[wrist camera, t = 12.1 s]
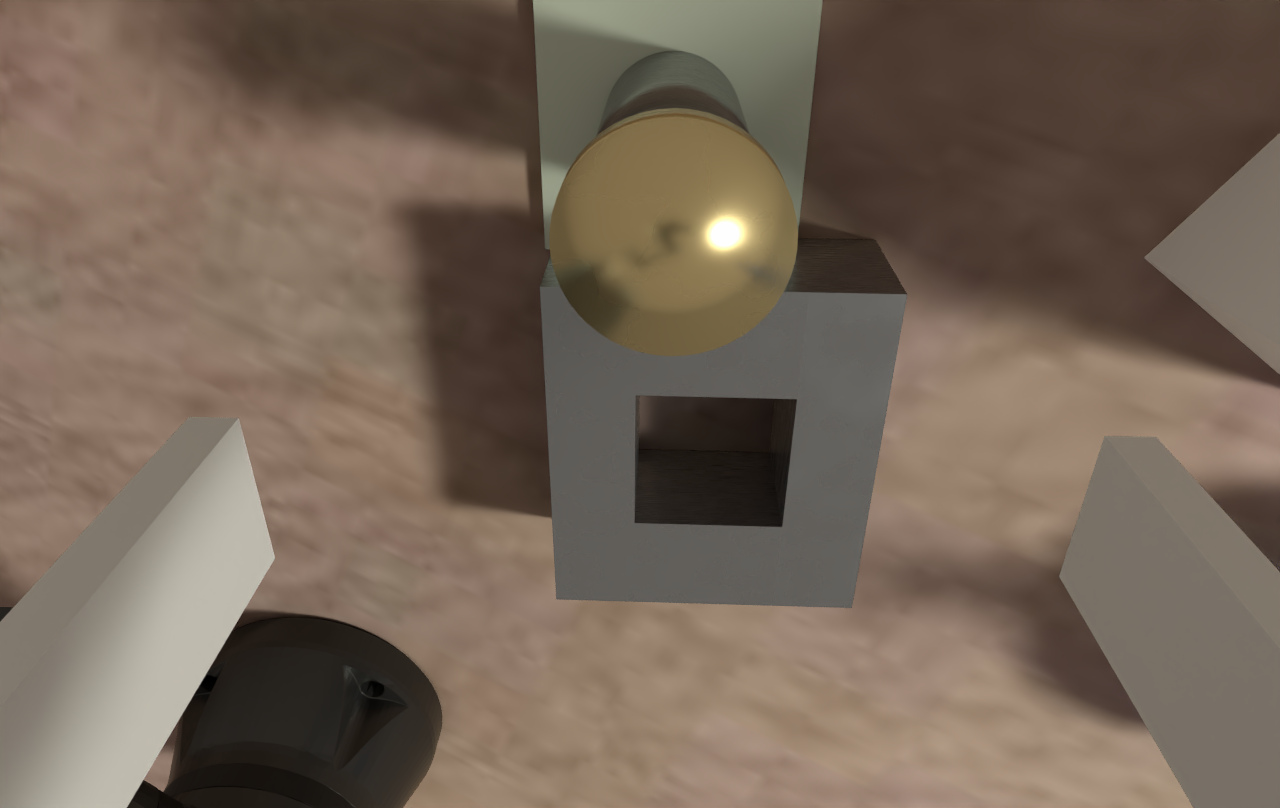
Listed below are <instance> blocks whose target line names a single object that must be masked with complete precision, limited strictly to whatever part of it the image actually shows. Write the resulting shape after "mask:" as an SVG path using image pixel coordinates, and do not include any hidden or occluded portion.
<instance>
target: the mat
mask: <svg viewBox="0 0 1280 808" xmlns="http://www.w3.org/2000/svg"><path fill="white" fill-rule="evenodd" d="M822 1H823V0H533V10H534V31H535V51H536V72H537V92H538V113H539V134H540V154H541V175H542V195H543V216H544V236H545V249H550V245H549V234H550V223H551V216H552V211H553V208H554V205H555V201H556V198H557V195H558V193H559V190H560V187H561V185H562V182H563V180H564V178H565V176H566V174H567V172H568V170H569V168H570V166H571V165H572V163H573V162H574V160H575V159H576V157H577V156H578V155H579V153H580V152H581V151H582V150H583V149H584V148H585V146H586V145H587V144H588V143H589V142H590V141H592V140H593V139H594V138H595V137H596V135H597V132H598V129H599V125H600V122H601V119H602V116H603V113H604V109H605V106H606V103H607V100H608V97H609V94H610V92H611V90H612V88H613V86H614V85H615V83H616V82H617V80H618V79H619V77H620V76H621V75H622V74H623V73H624V72H625V71H626V70H627V69H628V68H629V67H630V66H631V65H633V64H634V63H636V62H637V61H639V60H641V59H642V58H644V57H646V56H649V55H652V54H655V53H659V52H664V51H683V52H688V53H692V54H695V55H698V56H700V57H703V58H705V59H706V60H708V61H710V62H711V63H713V64H714V65H715V66H717V67H718V68H719V69H720V70H721V71H722V72H723V73H724V74H725V76H726V77H727V78H728V79H729V81H730V82H731V84H732V86H733V88H734V89H735V92H736V94H737V97H738V99H739V103H740V106H741V109H742V112H743V115H744V118H745V121H746V124H747V127H748V130H749V133H750V135H751V136H753V137H754V138H755V139H756V140H757V141H758V142H759V143H760V144H761V145H762V146H763V147H764V148H765V149H766V151H767V152H768V153H769V155H770V156H771V157H772V158H773V160H774V161H775V163H776V165H777V167H778V168H779V170H780V172H781V174H782V176H783V179H784V181H785V184H786V186H787V189H788V191H789V194H790V196H791V199H792V201H793V205H794V209H795V214H796V219H797V228H798V230H799V221H800V211H801V202H802V192H803V183H804V173H805V164H806V154H807V145H808V135H809V125H810V116H811V106H812V97H813V87H814V78H815V68H816V59H817V49H818V40H819V30H820V20H821V11H822Z"/></svg>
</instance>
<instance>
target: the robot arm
mask: <svg viewBox="0 0 1280 808" xmlns="http://www.w3.org/2000/svg"><path fill="white" fill-rule="evenodd" d="M274 559H275V556H274V552H273V548H272V544H271V541H270V537H269V533H268V529H267V525H266V521H265V517H264V514H263V510H262V506H261V502H260V498H259V494H258V490H257V487H256V483H255V479H254V475H253V471H252V467H251V463H250V460H249V456H248V452H247V448H246V444H245V440H244V436H243V433H242V429H241V425H240V421H239V418H215V417H189V418H188V419H187V420H186V421H185V422H184V423H183V424H182V425H181V426H180V427H179V428H178V430H177V431H176V432H175V433H174V434H173V435H172V436H171V437H170V438H169V439H168V440H167V441H166V443H165V444H164V445H163V446H162V447H161V448H160V449H159V450H158V451H157V452H156V453H155V454H154V456H153V457H152V458H151V459H150V460H149V461H148V462H147V463H146V464H145V465H144V466H143V468H142V469H141V470H140V471H139V472H138V473H137V474H136V475H135V476H134V477H133V478H132V479H131V481H130V482H129V483H128V484H127V485H126V486H125V487H124V488H123V489H122V490H121V491H120V492H119V494H118V495H117V496H116V497H115V498H114V499H113V500H112V501H111V502H110V503H109V504H108V505H107V507H106V508H105V509H104V510H103V511H102V512H101V513H100V514H99V515H98V516H97V517H96V518H95V520H94V521H93V522H92V523H91V524H90V525H89V526H88V527H87V528H86V529H85V530H84V531H83V533H82V534H81V535H80V536H79V537H78V538H77V539H76V540H75V541H74V542H73V543H72V544H71V546H70V547H69V548H68V549H67V550H66V551H65V552H64V553H63V554H62V555H61V556H60V557H59V559H58V560H57V561H56V562H55V563H54V564H53V565H52V566H51V567H50V568H49V569H48V571H47V572H46V573H45V574H44V575H43V576H42V577H41V578H40V579H39V580H38V581H37V582H36V584H35V585H34V586H33V587H32V588H31V589H30V590H29V591H28V592H27V593H26V594H25V595H24V597H23V598H22V599H21V600H20V601H19V602H18V603H17V604H16V605H15V606H14V607H13V608H11V607H0V808H403V807H404V806H405V804H406V803H407V801H408V800H409V798H410V797H411V796H412V794H413V793H414V791H415V790H416V789H417V787H418V786H419V784H420V783H421V781H422V780H423V778H424V777H425V775H426V774H427V772H428V770H429V768H430V766H431V763H432V760H433V758H434V754H435V750H436V747H437V743H438V740H439V736H440V732H441V728H442V710H441V706H440V702H439V699H438V696H437V694H436V692H435V690H434V688H433V686H432V684H431V683H430V681H429V680H428V678H427V677H426V676H425V674H424V673H423V672H422V671H421V670H420V669H419V668H418V666H416V665H415V664H414V663H413V662H412V661H411V660H410V659H409V658H408V657H407V656H405V655H404V654H403V653H401V652H400V651H399V650H397V649H396V648H394V647H393V646H391V645H390V644H388V643H386V642H385V641H383V640H381V639H379V638H377V637H375V636H373V635H371V634H369V633H366V632H364V631H361V630H359V629H356V628H353V627H350V626H347V625H343V624H339V623H335V622H331V621H326V620H320V619H312V618H276V619H269V620H263V621H259V622H255V623H251V624H248V625H245V626H243V627H241V628H238V629H236V630H234V631H232V630H233V628H234V626H235V625H236V623H237V621H238V620H239V618H240V616H241V615H242V613H243V611H244V609H245V608H246V606H247V604H248V603H249V601H250V599H251V598H252V596H253V594H254V593H255V591H256V589H257V588H258V586H259V584H260V583H261V581H262V579H263V577H264V576H265V574H266V572H267V571H268V569H269V567H270V566H271V564H272V562H273V561H274ZM1059 577H1060V579H1061V581H1062V583H1063V584H1064V586H1065V588H1066V589H1067V591H1068V593H1069V595H1070V596H1071V598H1072V600H1073V601H1074V603H1075V605H1076V607H1077V608H1078V610H1079V612H1080V614H1081V615H1082V617H1083V619H1084V620H1085V622H1086V624H1087V626H1088V627H1089V629H1090V631H1091V632H1092V634H1093V636H1094V638H1095V639H1096V641H1097V643H1098V644H1099V646H1100V648H1101V650H1102V651H1103V653H1104V655H1105V656H1106V658H1107V660H1108V662H1109V663H1110V665H1111V667H1112V668H1113V670H1114V672H1115V674H1116V675H1117V677H1118V679H1119V680H1120V682H1121V684H1122V686H1123V687H1124V689H1125V691H1126V692H1127V694H1128V696H1129V698H1130V699H1131V701H1132V703H1133V704H1134V706H1135V708H1136V710H1137V711H1138V713H1139V715H1140V716H1141V718H1142V720H1143V722H1144V723H1145V725H1146V727H1147V729H1148V730H1149V732H1150V734H1151V735H1152V737H1153V739H1154V741H1155V742H1156V744H1157V746H1158V747H1159V749H1160V751H1161V753H1162V754H1163V756H1164V758H1165V759H1166V761H1167V763H1168V765H1169V766H1170V768H1171V770H1172V771H1173V773H1174V775H1175V777H1176V778H1177V780H1178V782H1179V783H1180V785H1181V787H1182V789H1183V790H1184V792H1185V794H1186V795H1187V797H1188V799H1189V801H1190V802H1191V804H1192V806H1193V807H1194V808H1280V572H1279V571H1278V569H1277V568H1276V567H1275V566H1274V565H1273V564H1272V563H1271V562H1270V561H1269V560H1268V558H1267V557H1266V556H1265V555H1264V554H1263V553H1262V552H1261V551H1260V550H1259V549H1258V548H1257V546H1256V545H1255V544H1254V543H1253V542H1252V541H1251V540H1250V539H1249V538H1248V537H1247V536H1246V534H1245V533H1244V532H1243V531H1242V530H1241V529H1240V528H1239V527H1238V526H1237V525H1236V524H1235V522H1234V521H1233V520H1232V519H1231V518H1230V517H1229V516H1228V515H1227V514H1226V513H1225V512H1224V510H1223V509H1222V508H1221V507H1220V506H1219V505H1218V504H1217V503H1216V502H1215V501H1214V500H1213V498H1212V497H1211V496H1210V495H1209V494H1208V493H1207V492H1206V491H1205V490H1204V489H1203V487H1202V486H1201V485H1200V484H1199V483H1198V482H1197V481H1196V480H1195V479H1194V478H1193V477H1192V475H1191V474H1190V473H1189V472H1188V471H1187V470H1186V469H1185V468H1184V467H1183V466H1182V465H1181V463H1180V462H1179V461H1178V460H1177V459H1176V458H1175V457H1174V456H1173V455H1172V454H1171V453H1170V451H1169V450H1168V449H1167V448H1166V447H1165V446H1164V445H1163V444H1162V443H1161V442H1160V441H1159V439H1158V438H1157V437H1130V436H1105V437H1104V440H1103V443H1102V446H1101V449H1100V452H1099V455H1098V458H1097V462H1096V465H1095V468H1094V471H1093V474H1092V477H1091V480H1090V483H1089V486H1088V489H1087V492H1086V495H1085V498H1084V501H1083V504H1082V507H1081V511H1080V514H1079V517H1078V520H1077V523H1076V526H1075V529H1074V532H1073V535H1072V538H1071V541H1070V544H1069V547H1068V550H1067V553H1066V556H1065V560H1064V563H1063V566H1062V569H1061V572H1060V575H1059ZM231 631H232V632H231ZM179 719H180V722H179V727H178V733H177V738H176V744H175V749H174V754H173V760H172V765H171V771H170V776H169V781H168V784H167V786H166V788H165V790H164V792H162V791H160V790H158V789H157V788H156V787H155V786H153V785H151V784H150V783H148V782H146V781H144V778H145V776H146V775H147V773H148V771H149V769H150V768H151V766H152V764H153V763H154V761H155V759H156V758H157V756H158V754H159V753H160V751H161V749H162V748H163V746H164V744H165V743H166V741H167V739H168V737H169V736H170V734H171V732H172V731H173V729H174V727H175V726H176V724H177V722H178V721H179Z"/></svg>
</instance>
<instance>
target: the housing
mask: <svg viewBox="0 0 1280 808" xmlns="http://www.w3.org/2000/svg"><path fill="white" fill-rule="evenodd" d="M906 299H907V293H906V291H905V290H904V288H903V286H902V285H901V283H900V281H899V279H898V278H897V276H896V274H895V273H894V271H893V269H892V268H891V266H890V264H889V262H888V261H887V259H886V257H885V256H884V254H883V252H882V251H881V249H880V247H879V245H878V244H877V242H876V240H840V239H798V245H797V253H796V259H795V264H794V267H793V271H792V274H791V277H790V279H789V282H788V284H787V286H786V288H785V290H784V292H783V294H782V295H781V297H780V298H779V300H778V302H777V303H776V305H775V306H774V307H773V308H772V310H771V311H770V312H769V313H768V314H767V316H766V317H765V318H764V319H763V320H762V321H760V322H759V323H758V324H757V325H756V326H755V327H754V328H753V329H751V330H750V331H748V332H747V333H746V334H744V335H743V336H741V337H740V338H738V339H736V340H734V341H732V342H731V343H729V344H726V345H724V346H722V347H719V348H717V349H714V350H710V351H707V352H703V353H699V354H693V355H686V356H660V355H652V354H647V353H642V352H638V351H635V350H632V349H629V348H626V347H624V346H621V345H619V344H617V343H615V342H613V341H611V340H609V339H608V338H606V337H604V336H603V335H601V334H600V333H598V332H597V331H596V330H595V329H593V328H592V327H591V326H590V325H588V324H587V323H586V322H585V321H584V320H583V319H582V318H581V317H580V316H579V315H578V314H577V312H576V311H575V310H574V308H573V307H572V306H571V304H570V303H569V302H568V300H567V298H566V297H565V295H564V293H563V291H562V290H561V288H560V285H559V283H558V280H557V278H556V275H555V272H554V268H553V265H552V261H551V255H550V258H549V261H548V264H547V267H546V270H545V273H544V276H543V279H542V282H541V285H540V300H541V318H542V337H543V356H544V375H545V394H546V412H547V431H548V450H549V469H550V488H551V507H552V525H553V544H554V563H555V582H556V599H564V600H599V601H633V602H668V603H702V604H737V605H772V606H806V607H841V608H852V603H853V598H854V592H855V586H856V581H857V575H858V569H859V564H860V558H861V553H862V547H863V541H864V536H865V530H866V524H867V519H868V513H869V507H870V502H871V496H872V490H873V485H874V479H875V474H876V468H877V462H878V457H879V451H880V445H881V440H882V434H883V428H884V423H885V417H886V411H887V406H888V400H889V395H890V389H891V383H892V378H893V372H894V366H895V361H896V355H897V349H898V344H899V338H900V332H901V327H902V321H903V316H904V310H905V304H906ZM639 395H641V396H683V397H726V398H768V399H775V401H774V411H773V421H772V431H771V441H770V451H769V453H762V452H722V451H682V450H641V449H639Z"/></svg>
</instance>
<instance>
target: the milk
mask: <svg viewBox="0 0 1280 808" xmlns="http://www.w3.org/2000/svg"><path fill="white" fill-rule="evenodd" d="M1144 258H1145V259H1146V260H1147V261H1148V262H1149V263H1150V264H1152V265H1153V266H1154V267H1155V268H1156V269H1157V270H1159V271H1160V272H1161V273H1162V274H1163V275H1164V276H1166V277H1167V278H1168V279H1169V280H1170V281H1171V282H1173V283H1174V284H1175V285H1176V286H1177V287H1178V288H1179V289H1181V290H1182V291H1183V292H1184V293H1185V294H1186V295H1188V296H1189V297H1190V298H1191V299H1192V300H1193V301H1195V302H1196V303H1197V304H1198V305H1199V306H1200V307H1202V308H1203V309H1204V310H1205V311H1206V312H1207V313H1209V314H1210V315H1211V316H1212V317H1213V318H1214V319H1215V320H1217V321H1218V322H1219V323H1220V324H1221V325H1222V326H1224V327H1225V328H1226V329H1227V330H1228V331H1229V332H1231V333H1232V334H1233V335H1234V336H1235V337H1236V338H1238V339H1239V340H1240V341H1241V342H1242V343H1243V344H1245V345H1246V346H1247V347H1248V348H1249V349H1250V350H1252V351H1253V352H1254V353H1255V354H1256V355H1257V356H1258V357H1260V358H1261V359H1262V360H1263V361H1264V362H1265V363H1267V364H1268V365H1269V366H1270V367H1271V368H1272V369H1274V370H1275V371H1276V372H1277V373H1278V374H1279V375H1280V133H1279V134H1278V135H1277V136H1276V137H1275V138H1274V139H1273V140H1271V141H1270V142H1269V143H1268V144H1267V145H1266V146H1265V147H1264V148H1263V149H1262V150H1261V151H1259V152H1258V153H1257V154H1256V155H1255V156H1254V157H1253V158H1252V159H1251V160H1250V161H1249V162H1247V163H1246V164H1245V165H1244V166H1243V167H1242V168H1241V169H1240V170H1239V171H1238V172H1237V173H1235V174H1234V175H1233V176H1232V177H1231V178H1230V179H1229V180H1228V181H1227V182H1226V183H1225V184H1224V185H1222V186H1221V187H1220V188H1219V189H1218V190H1217V191H1216V192H1215V193H1214V194H1213V195H1212V196H1210V197H1209V198H1208V199H1207V200H1206V201H1205V202H1204V203H1203V204H1202V205H1201V206H1200V207H1198V208H1197V209H1196V210H1195V211H1194V212H1193V213H1192V214H1191V215H1190V216H1189V217H1188V218H1186V219H1185V220H1184V221H1183V222H1182V223H1181V224H1180V225H1179V226H1178V227H1177V228H1176V229H1175V230H1173V231H1172V232H1171V233H1170V234H1169V235H1168V236H1167V237H1166V238H1165V239H1164V240H1163V241H1161V242H1160V243H1159V244H1158V245H1157V246H1156V247H1155V248H1154V249H1153V250H1152V251H1151V252H1149V253H1148V254H1147V255H1146V256H1145V257H1144Z"/></svg>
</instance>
